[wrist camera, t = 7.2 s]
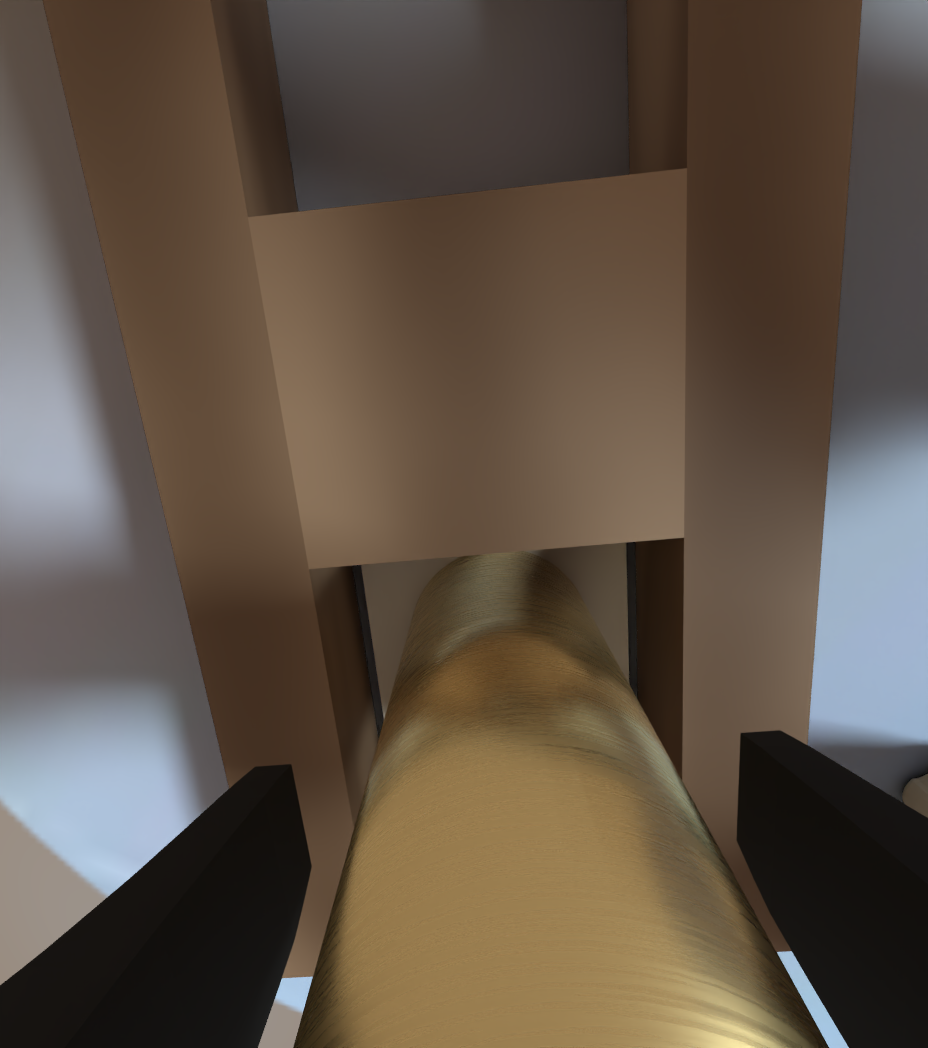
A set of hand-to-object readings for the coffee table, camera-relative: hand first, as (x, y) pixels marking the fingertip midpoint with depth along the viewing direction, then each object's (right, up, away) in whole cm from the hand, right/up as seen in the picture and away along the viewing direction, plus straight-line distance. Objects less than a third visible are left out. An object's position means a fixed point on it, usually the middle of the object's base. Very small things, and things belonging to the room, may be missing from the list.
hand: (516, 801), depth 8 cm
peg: (0, +2, +5) cm, 5 cm away
